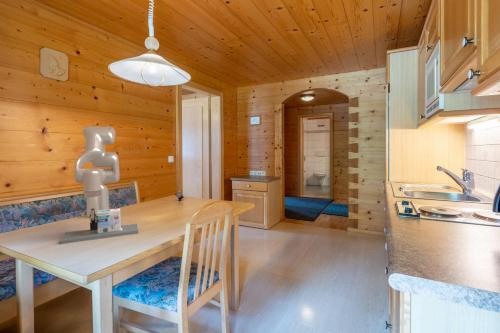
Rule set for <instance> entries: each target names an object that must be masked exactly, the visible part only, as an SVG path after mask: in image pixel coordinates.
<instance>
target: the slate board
mask: <svg viewBox="0 0 500 333" xmlns="http://www.w3.org/2000/svg"><path fill="white" fill-rule="evenodd" d="M134 234H135V235H137V234H139V228H138V223H133V224H132V223H131V224H125V225H121V229H120V231H114V232H105V233H98V229H97V230H92V231H91V230H90V229H84V230H76V231H67V232H65V233H64V234H63V236H62V237H61V238H60V241H59V244H60V245H64V244H70V243H77V242H85V241H90V240H98V239H99V240H100V239H107V238H108V239H109V238H115V237H120V236H122V237H123V236H128V235H129V236H130V235H134Z"/></svg>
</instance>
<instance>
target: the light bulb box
mask: <svg viewBox="0 0 500 333" xmlns="http://www.w3.org/2000/svg"><path fill="white" fill-rule="evenodd" d="M97 225H98V233H105V232H114V231H120V229H121V226H122V220H121V208H120V207H118V208H109V209H108V210H99V212H98V216H97Z"/></svg>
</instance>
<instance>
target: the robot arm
mask: <svg viewBox="0 0 500 333" xmlns="http://www.w3.org/2000/svg"><path fill="white" fill-rule="evenodd" d="M82 134H83V136H84V138H85V143H84V144H85V146H84V147H85V148H84V149H85V150H84V152H83V153H82V154H81V155H80V156H79V157H78V158H77V160H76V161H75V164H74V172H73V174H74V181H75V182H76V183H77V184H83V195H84V198H85V199H86V218H89V228H90V229H89V230H91V231H92V230H97V229H98V225H97V216H98V212H99V210H108V209H110V200H109V199H110V197H109V195H110V194H109V188H108V187H107V186H106V185H105V184H110V183H111V184H112V183H118V182H119V181H120V176H121V174H120V159H119V156H118V154H117V153H116V152H114V151H113V152H111V151H110V152H109V151H108V152H107V151H106V145H111V144H112V145H113V144H114V143H115V139H116V130H115V128H114V127H113V126H112V127H111V126H84V128H83V129H82ZM89 162H91V163H90V164H91V165H92V167H94V168H83V166H84V165H85V164H87V163H89Z"/></svg>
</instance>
